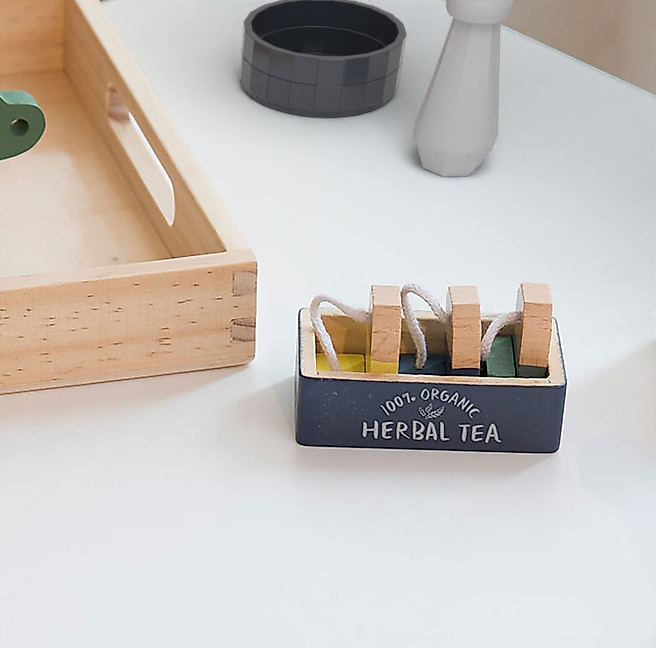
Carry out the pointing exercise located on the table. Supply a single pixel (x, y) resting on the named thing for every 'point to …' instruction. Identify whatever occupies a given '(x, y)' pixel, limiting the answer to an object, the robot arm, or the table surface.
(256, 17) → the bowl
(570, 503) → the table surface
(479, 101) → the salt shaker
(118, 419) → the table surface
